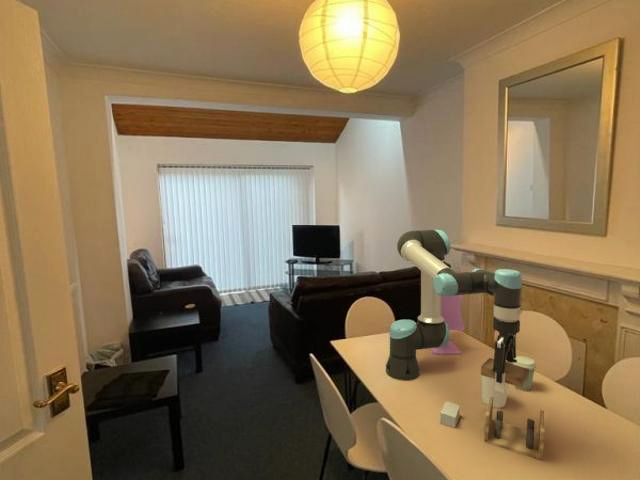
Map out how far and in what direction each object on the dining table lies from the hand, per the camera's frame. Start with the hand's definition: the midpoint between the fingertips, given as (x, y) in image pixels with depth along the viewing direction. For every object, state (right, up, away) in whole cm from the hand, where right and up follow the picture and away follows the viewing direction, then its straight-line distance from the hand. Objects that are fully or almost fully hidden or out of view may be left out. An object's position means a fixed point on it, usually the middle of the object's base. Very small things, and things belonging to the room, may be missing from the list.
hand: (504, 385), depth 113 cm
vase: (+4, -10, +69) cm, 69 cm away
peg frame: (+4, -18, +1) cm, 18 cm away
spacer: (-13, -17, +12) cm, 25 cm away
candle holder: (+8, -16, +22) cm, 28 cm away
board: (0, +3, 0) cm, 3 cm away
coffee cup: (+24, -14, +31) cm, 42 cm away
